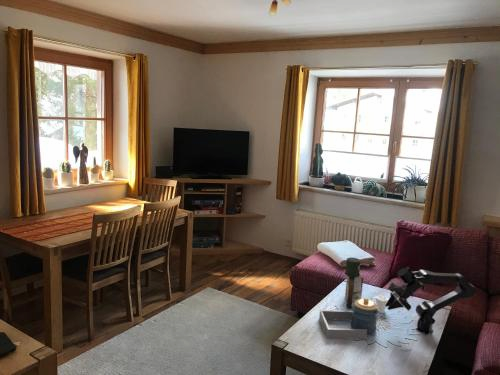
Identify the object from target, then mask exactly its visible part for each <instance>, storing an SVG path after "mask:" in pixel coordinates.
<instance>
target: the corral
mask: <svg viewBox="0 0 500 375" xmlns="http://www.w3.org/2000/svg"><path fill="white" fill-rule="evenodd" d="M352 311H353V310H331V309H330V310H327V309H323V310H322V309H320V310H319V318H318V319H319V321H320V324H321V326H322V329H323V332H324V334H325V336H326V339H332V340H333V339H335V340H336V339H337V340H343V339H344V340H367V336H368V335H367V329H352V328H335V327H333V328H330V327H329V324H328V321H327V320H329V321H331V320H332V321H334V320H333V319H338V320H337V321H352ZM342 319H343V320H342Z"/></svg>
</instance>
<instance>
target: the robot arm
mask: <svg viewBox="0 0 500 375" xmlns="http://www.w3.org/2000/svg"><path fill="white" fill-rule="evenodd" d="M397 276H398V277H399V279H400V280H401V281H402V282H403V283H404V284H401V285H400V284H398V283H396V282H394V281H391V283H390V284H389V285H388V287H387V288H388V290H389V294H390V295H389V296H390V297H389V298H388V302H387V303H386V305H385V306H386V308H387V310H389V311H390V310H394V309H400V308H403V309H404V308H405V309H406V310H407V311H410V310H411V309H412V306H411V304H410V303H409V302H408V299H409V298H410V297H412V298H413V297H414V294H415V293H416V292H418V290H420V289H421V290H422V291H425V285H431V284H434V283H457V286H456V288H455V289H454V290H453V291H451V292H449V293H447V294H445V295H444V296H441V297H439V298H438V299H435V300H433V301H432V302H428V301H426V300H423V301H422V302H421V303H418V305H416V306H415V313H416V314H417V316H418V317H419V318H418V320H417V323H416V324H417V325H416V329H415V330H416V331H419V332H421V333H423V334H425V335H429V334H431V333H432V332H434V330H433V325H434V324H435V322H436V319H435V318H434V316H435V315H436V313H437V311H438V312H439V311H440V310H442V309H444V308H446V307H447V306H449V305H451V304H454V303H455V302H458V301H460V300H462V299H463V300H464V299H470V298H473V297H475V296H477V292H478V290H477V288H476V287H475V286H474V285H473V284H471V283H470V282H468V281H467V279H466V278H465V277H464V276H463V275H462V274H461V273H460V272H459V273H458V272H457V273H452V272H451V273H449V272H448V273H447V272H446V273H444V272H433V271H430V270H427V269H426V270H425V269H419V270H417V271H416V270H415V271H412V270H411V269H410V268H409V266H406V267H403V268H401V269H399V270H398V271H397Z"/></svg>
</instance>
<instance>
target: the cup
mask: <svg viewBox="0 0 500 375" xmlns="http://www.w3.org/2000/svg"><path fill="white" fill-rule="evenodd" d="M373 299H375V302H376V303H375V304H376V305H377V309H378V311H379V312H378V313H381V312H382V313H385V311H386V308H387V307H386V306H385V305H386V303H387V302H388V300H389V298H388V297H387V296H386V295H380V294H379V295H377V296H373V297H371V298H370V300H371V301H373Z"/></svg>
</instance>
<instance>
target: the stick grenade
mask: <svg viewBox="0 0 500 375" xmlns="http://www.w3.org/2000/svg"><path fill="white" fill-rule="evenodd" d="M345 263H346V265H345V271H344V274H345V276H346V277H347V276H349V289H348V299H347V298H346V303H345V307H346V309H348V310H351V309H353V303H352V296H353V286H354V280H355V277H359V276H361V274H360V270H361V269H360V268H361V260H360V259H359V258H356V257H347V258H346V262H345Z"/></svg>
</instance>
